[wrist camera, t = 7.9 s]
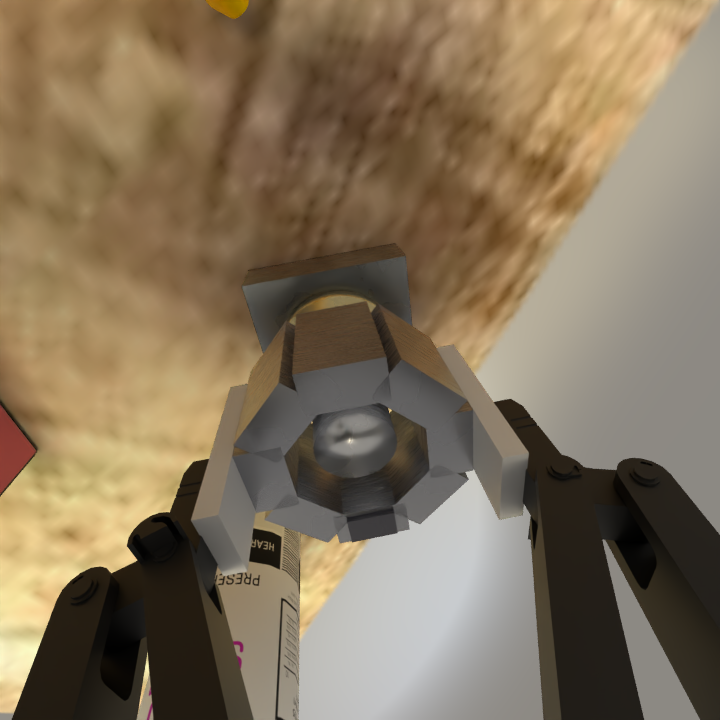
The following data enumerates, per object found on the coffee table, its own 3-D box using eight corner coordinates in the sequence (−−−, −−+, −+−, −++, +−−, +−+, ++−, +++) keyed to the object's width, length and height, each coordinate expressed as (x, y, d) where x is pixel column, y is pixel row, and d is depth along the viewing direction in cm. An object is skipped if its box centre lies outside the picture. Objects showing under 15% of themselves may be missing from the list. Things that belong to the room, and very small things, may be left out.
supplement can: (255, 570, 34) (225, 840, 21) (170, 533, 30) (70, 831, 17) (321, 521, 32) (332, 789, 19) (238, 474, 28) (182, 766, 15)
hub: (230, 326, 15) (201, 395, 11) (431, 289, 15) (475, 343, 11) (281, 471, 19) (274, 561, 15) (440, 440, 19) (475, 520, 15)
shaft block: (248, 270, 21) (204, 376, 12) (395, 243, 21) (463, 327, 12) (285, 391, 25) (274, 538, 16) (408, 367, 25) (466, 499, 16)
